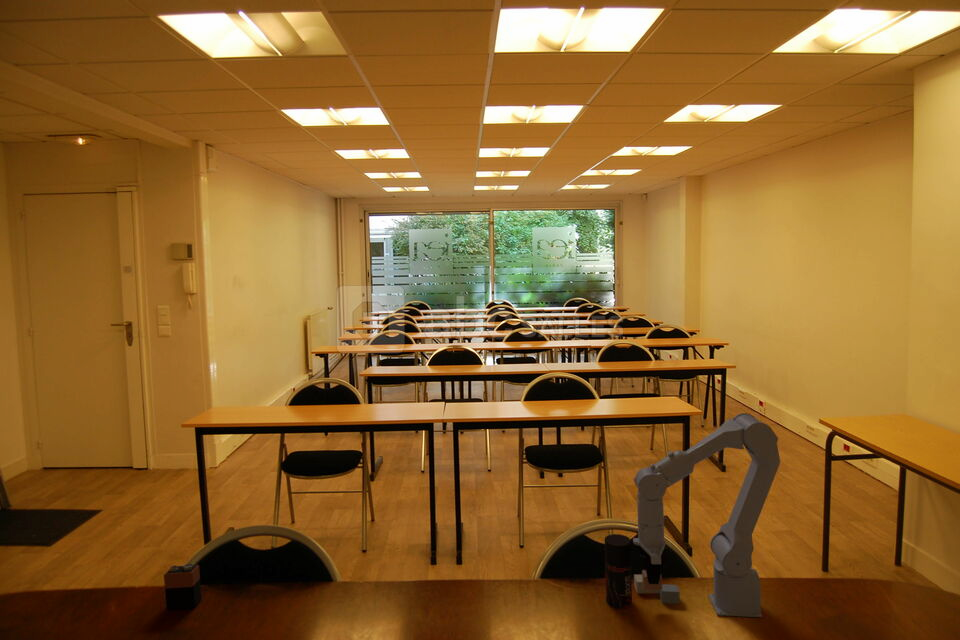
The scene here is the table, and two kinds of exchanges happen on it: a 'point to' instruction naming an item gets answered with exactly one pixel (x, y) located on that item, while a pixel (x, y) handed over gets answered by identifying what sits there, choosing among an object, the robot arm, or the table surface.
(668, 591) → the slate brick
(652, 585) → the terracotta brick
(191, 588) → the battery
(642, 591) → the cream brick
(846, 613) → the table surface
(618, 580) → the deodorant
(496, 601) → the table surface
